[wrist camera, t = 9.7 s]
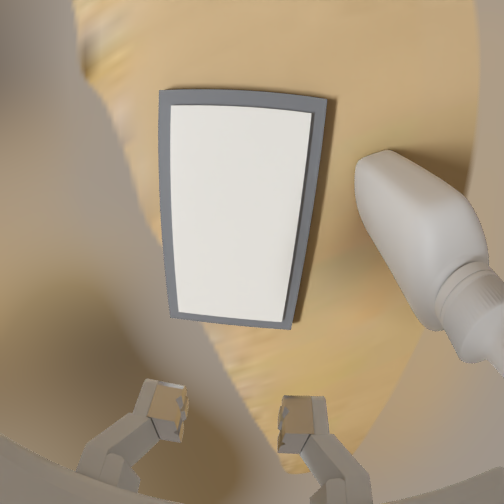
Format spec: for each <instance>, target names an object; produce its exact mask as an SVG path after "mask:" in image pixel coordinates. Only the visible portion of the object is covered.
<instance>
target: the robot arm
mask: <svg viewBox="0 0 504 504" xmlns="http://www.w3.org/2000/svg"><path fill="white" fill-rule="evenodd" d="M186 392H187V389H186V386H184V385H178V384H172V383H166V382H161V381H157V380H151V379H146V380H145V381H144V383H143V386H142V388H141V391H140V394H139V397H138V400H137V402H136V405H135V408H134V411H133V413H128V414H127V415H125V416H124V417H122V418H121V419H120V420H118V421H117V422H116V423H114V424H113V425H111V426H110V427H109V428H107V429H106V430H105V431H103V432H102V433H100V434H99V435H98V436H96V437H95V438H93V439H92V440H90V441H89V442H88V443H86V445H85V448H84V451H83V453H82V456H81V459H80V461H79V464H78V467H77V469H76V472H75V471H72V470H70V469H68V468H65V467H63V466H61V465H59V464H56V463H54V462H52V461H50V460H48V459H46V458H44V457H42V456H40V455H38V454H36V453H34V452H32V451H30V450H29V449H27V448H25V447H23V446H21V445H20V444H18V443H16V442H14V441H13V440H11V439H9V438H8V437H6V436H4V435H3V434H1V433H0V504H183V503H177V502H172V501H168V500H163V499H159V498H155V497H150V496H146V495H142V494H139V493H137V492H138V487H139V484H140V478H139V477H138V475H137V474H136V473H135V472H134V471H133V469H132V468H131V467H132V466H133V465H134V464H135V463H136V462H137V461H138V460H139V459H140V458H142V457H143V456H144V455H145V454H146V453H147V452H148V451H149V450H150V449H151V448H152V447H153V446H154V445H155V444H156V443H157V442H158V441H159V439H162V440H168V441H173V442H180V443H181V441H182V436H183V431H184V425H183V421H184V420H186V418H187V413H188V406H189V404H188V397H187V396H186ZM278 429H279V430H280V433H279V436H278V453H292V454H300V456H301V458H302V459H303V461H304V462H305V464H306V465H307V467H308V468H309V470H310V471H311V472H312V474H313V475H314V477H315V478H316V480H317V481H318V483H319V484H320V485H321V488H320V489H319V490H318V491H317V492H316V493H314V495H312V496H311V497H310V504H373V500H372V492H371V484H370V476H369V474H368V473H367V471H366V470H365V469H364V468H363V467H362V466H361V465H360V464H359V463H358V462H357V460H356V459H355V458H354V457H353V456H352V455H351V454H350V452H349V451H348V450H347V449H346V448H345V447H344V446H343V445H342V443H341V442H340V441H339V440H338V439H337V438H336V436H335V435H334V434H329V424H328V416H327V407H326V399H325V397H324V396H287V395H284V396H283V399H282V406H280V410H279V415H278ZM382 504H504V468H503V467H496V468H493V469H491V470H489V471H486V472H484V473H482V474H479V475H477V476H474V477H472V478H469V479H467V480H464V481H461V482H459V483H456V484H453V485H450V486H447V487H444V488H441V489H438V490H435V491H431V492H428V493H424V494H421V495H417V496H413V497H409V498H405V499H401V500H396V501H392V502H387V503H382Z"/></svg>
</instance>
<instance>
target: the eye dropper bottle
mask: <svg viewBox="0 0 504 504" xmlns="http://www.w3.org/2000/svg"><path fill="white" fill-rule="evenodd" d="M354 184H355V197H356V203H357V208H358V211H359V214H360V217H361V220H362V222H363V224H364V226H365V228H366V230H367V232H368V234H369V235H370V237H371V239H372V240H373V242H374V244H375V245H376V247H377V249H378V250H379V252H380V254H381V255H382V257H383V259H384V260H385V262H386V264H387V266H388V267H389V269H390V271H391V273H392V274H393V276H394V278H395V280H396V281H397V283H398V285H399V287H400V289H401V290H402V292H403V294H404V296H405V298H406V300H407V301H408V303H409V305H410V307H411V309H412V311H413V312H414V314H415V315H416V317H417V318H418V320H419V321H420V322H421V323H422V324H423V325H424V326H425V327H426V328H427V329H429V330H432V331H440V330H441V331H442V330H445V332H446V334H447V335H448V338H449V339H450V341H451V343H452V345H453V347H454V349H455V351H456V353H457V355H458V357H459V358H460V359H461V361H463V362H466V363H478V362H481V361H484V360H486V359H487V360H488V361H489V362H490V363H491V364H492V365H493V366H494V367H495V368H496V370H497V371H498V372H499V373H500V374H501V375H502V376H503V378H504V282H503V281H502V280H501V279H500V278H499V277H498V275H497V274H496V273H495V272H494V271H493V270H492V269H491V268H490V267H489V257H488V249H487V244H486V239H485V235H484V232H483V229H482V226H481V223H480V221H479V219H478V217H477V215H476V213H475V211H474V209H473V207H472V206H471V204H470V203H469V201H468V200H467V198H466V197H465V196H464V195H463V194H461V193H460V192H459V191H457V190H456V189H455V188H453V187H452V186H450V185H449V184H448V183H446V182H445V181H443V180H442V179H440V178H439V177H437V176H436V175H434V174H432V173H431V172H429V171H427V170H426V169H424V168H422V167H421V166H419V165H417V164H416V163H414V162H412V161H410V160H409V159H407V158H405V157H403V156H401V155H400V154H398V153H396V152H394V151H392V150H384V151H380V152H377V153H374V154H371V155H368V156H366V157H363V158H362V159H360V160H359V161H358V163H357V165H356V169H355V183H354Z"/></svg>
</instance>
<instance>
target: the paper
mask: <svg viewBox="0 0 504 504" xmlns="http://www.w3.org/2000/svg"><path fill="white" fill-rule="evenodd" d="M310 123H311V113H306V112H298V111H289V110H280V109H269V108H256V107H240V106H215V105H172V106H171V123H170V176H171V211H172V232H173V250H174V264H175V277H176V289H177V300H178V310H179V312H184V313H192V314H201V315H209V316H218V317H228V318H238V319H249V320H260V321H273V322H282V318H283V313H284V307H285V301H286V295H287V289H288V283H289V277H290V271H291V265H292V258H293V252H294V245H295V239H296V232H297V225H298V218H299V211H300V204H301V196H302V189H303V181H304V174H305V166H306V158H307V149H308V141H309V132H310Z"/></svg>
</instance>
